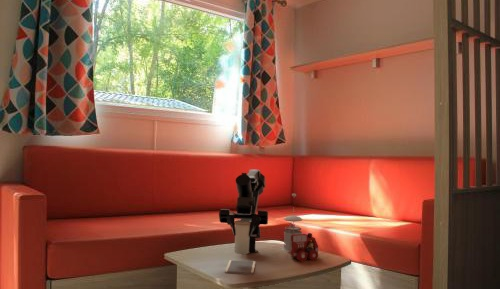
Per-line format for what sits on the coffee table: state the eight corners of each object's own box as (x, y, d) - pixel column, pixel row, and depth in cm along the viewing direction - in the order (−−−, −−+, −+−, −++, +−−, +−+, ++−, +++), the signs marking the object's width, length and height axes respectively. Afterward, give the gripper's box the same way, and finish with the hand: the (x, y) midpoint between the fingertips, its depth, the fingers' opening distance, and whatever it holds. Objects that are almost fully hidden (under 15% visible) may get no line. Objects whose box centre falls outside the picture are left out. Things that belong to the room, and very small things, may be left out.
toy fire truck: (322, 260, 174) (322, 234, 174) (295, 262, 169) (295, 235, 169) (313, 256, 180) (313, 231, 180) (286, 258, 175) (287, 232, 175)
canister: (234, 250, 164) (235, 219, 164) (250, 250, 164) (250, 220, 164) (233, 253, 158) (234, 222, 158) (249, 254, 158) (249, 223, 158)
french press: (304, 248, 193) (306, 192, 193) (302, 254, 182) (304, 195, 182) (282, 247, 195) (284, 191, 195) (279, 252, 184) (281, 194, 184)
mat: (229, 261, 166) (229, 260, 166) (255, 263, 166) (255, 261, 166) (224, 272, 151) (225, 270, 151) (253, 274, 151) (253, 272, 151)
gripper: (220, 188, 166) (215, 221, 155) (268, 189, 165) (267, 223, 154) (222, 205, 174) (217, 238, 163) (268, 207, 173) (267, 240, 161)
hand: (242, 235), depth 160 cm, fingers closed on canister, 5 cm apart
